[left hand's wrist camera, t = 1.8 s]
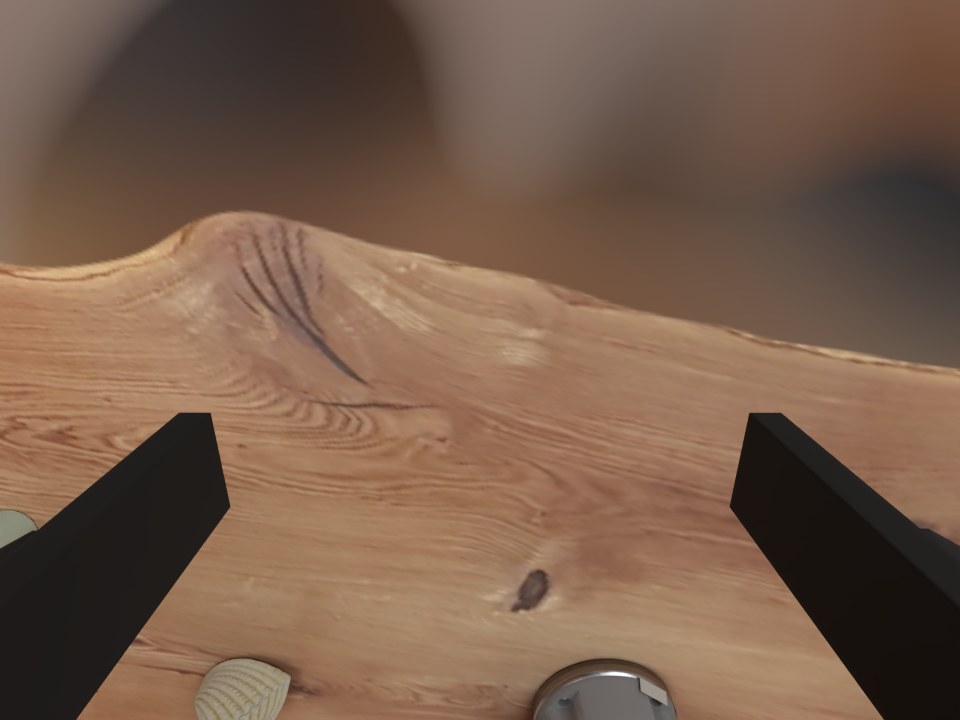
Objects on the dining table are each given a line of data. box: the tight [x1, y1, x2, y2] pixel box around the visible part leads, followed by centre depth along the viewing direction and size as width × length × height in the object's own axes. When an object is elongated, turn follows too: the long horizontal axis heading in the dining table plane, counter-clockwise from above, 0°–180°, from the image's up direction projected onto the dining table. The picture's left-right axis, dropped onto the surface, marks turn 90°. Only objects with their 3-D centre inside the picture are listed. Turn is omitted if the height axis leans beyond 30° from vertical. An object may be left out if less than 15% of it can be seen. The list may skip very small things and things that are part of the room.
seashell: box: [194, 659, 291, 720], centre depth 52 cm, size 8×8×8 cm
